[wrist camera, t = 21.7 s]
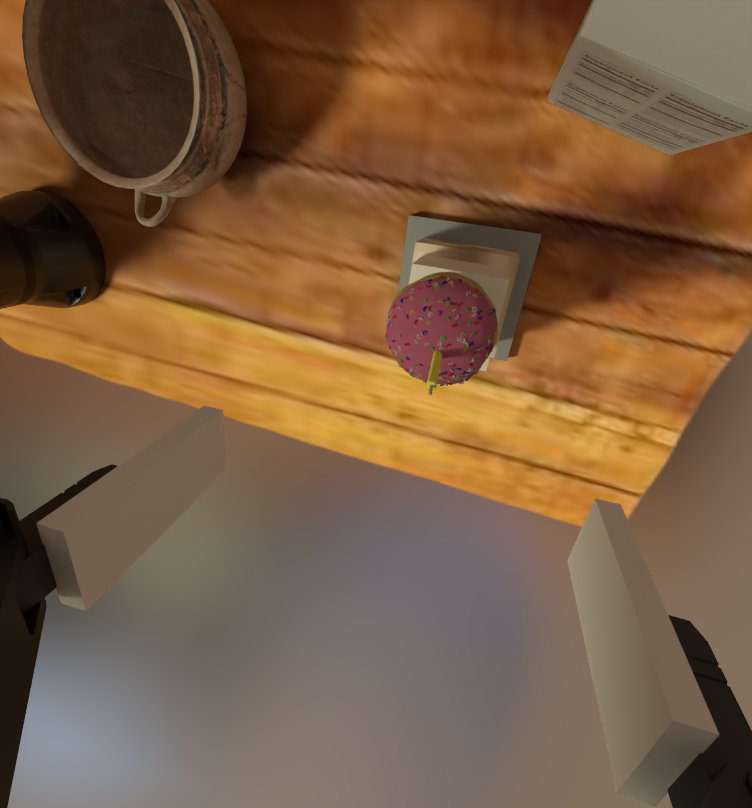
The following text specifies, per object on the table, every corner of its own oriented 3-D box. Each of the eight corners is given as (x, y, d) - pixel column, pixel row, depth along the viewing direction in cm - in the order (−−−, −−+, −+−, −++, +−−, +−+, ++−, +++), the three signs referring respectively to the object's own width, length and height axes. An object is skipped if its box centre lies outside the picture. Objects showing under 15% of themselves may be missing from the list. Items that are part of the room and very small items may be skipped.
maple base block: (409, 326, 51) (400, 340, 46) (423, 237, 47) (415, 241, 41) (493, 341, 49) (494, 358, 44) (517, 251, 45) (520, 258, 40)
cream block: (410, 333, 45) (398, 353, 39) (423, 254, 42) (412, 263, 35) (486, 347, 44) (485, 371, 38) (506, 268, 40) (509, 279, 34)
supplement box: (633, -88, 34) (751, -330, 19) (789, -24, 33) (1044, -220, 18) (542, 102, 40) (573, 38, 25) (672, 158, 40) (786, 129, 24)
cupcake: (499, 361, 37) (502, 423, 26) (403, 367, 39) (371, 427, 29) (494, 258, 34) (496, 283, 23) (390, 272, 36) (349, 300, 26)
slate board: (393, 336, 53) (391, 338, 52) (410, 215, 47) (408, 215, 46) (506, 358, 51) (506, 361, 50) (540, 233, 45) (542, 234, 44)
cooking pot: (112, -61, 43) (-14, -149, 32) (284, -30, 41) (210, -115, 30) (128, 205, 55) (39, 206, 44) (263, 241, 52) (204, 250, 42)
